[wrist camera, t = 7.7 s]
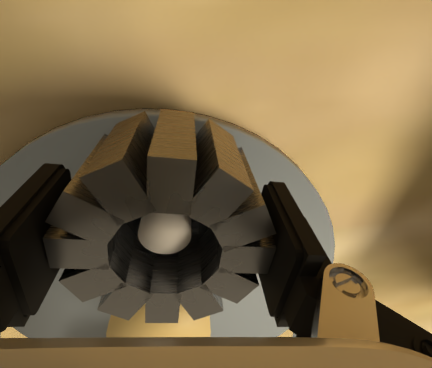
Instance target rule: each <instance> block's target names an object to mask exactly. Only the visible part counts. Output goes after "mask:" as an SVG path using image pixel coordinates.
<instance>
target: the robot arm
mask: <svg viewBox="0 0 432 368" xmlns="http://www.w3.org/2000/svg"><path fill="white" fill-rule="evenodd" d="M70 181H71V173H70V170H69V169H65V167H64V165H62V164H50V163H44V164H43V165H42V166H41V167H40V168H39V169H38V170H37V171H36V172H35V173H34V174H33V175H32V176H31V177H30V178H29V179H28V180H27V181H26V182H25V183H24V184H23V185H22V186H21V187H20V188H19V189H18V190H17V191H16V192H15V193H14V194H13V195H12V196H11V197H10V198H9V199H8V200H7V201H6V202H5V203H4V204H3V205H2V206H1V207H0V333H1V332H2V331H4V330H6V328H7V327H24V326H25V325H26V323H27V321H28V319H29V317H30V315H35V314H36V313H37V312H38V310H39V308H40V306H41V304H42V302H43V300H44V298H45V296H46V295H47V293H48V291H49V289H50V287H51V285H52V283H53V281H54V279H55V277H56V275H57V273H58V271H59V269H60V268H50V267H49V262H48V258H47V254H46V250H45V246H44V242H43V237H44V235H45V234H46V232H47V231H48V229H49V228H50V226H51V225H50V224H48V223H46V222H45V221H46V219H47V217H48V216H49V214H50V212H51V211H52V209H53V207H54V206H55V204H56V202H57V201H58V199H59V197H60V195H61V194H62V192H63V191H64V189H65V188H66V186H67V185H68V184H69V182H70ZM261 195H262V197H263V200H264V202H265V204H266V207H267V210H268V212H269V215H270V218H271V220H272V223H273V226H274V228H275V231H276V234H274V235H272V237H273V240H274V243H275V245H276V251H275V254H274V257H273V260H272V262H271V265H270V268H269V271H268V274H259V278H260V282H261V285H262V289H263V293H264V297H265V300H266V304H267V308H268V312H269V315H270V316H271V317H274V318H275V322H276V325H277V327H289V330H291V331H292V332H293V337H95V338H0V368H432V334H431V333H429V332H428V331H426V330H424V329H423V328H421V327H419V326H418V325H416V324H414V323H413V322H411V321H410V320H408V319H406V318H405V317H403V316H401V315H400V314H398V313H396V312H395V311H393V310H391V309H390V308H388V307H386V306H385V305H383V304H381V303H380V302H378V301H377V300H375V294H374V289H373V286H372V285H371V283H370V282H369V280H368V279H367V278H366V277H365V276H364V275H363V274H362V273H360V272H359V271H358V270H356V269H354V268H352V267H350V266H348V265H344V264H340V263H333V264H332V263H331V261H330V259H329V258H328V256H327V254H326V252H325V251H324V249H323V247H322V245H321V244H320V242H319V240H318V238H317V237H316V235H315V233H314V232H313V230H312V228H311V226H310V225H309V223H308V221H307V219H306V218H305V217H304V216H303V214H302V212H301V210H300V209H299V207H298V205H297V203H296V202H295V200H294V198H293V196H292V195H291V193H290V191H289V190H288V188H287V186H286V184H285V183H284V182H274V181H270V182H269V183H268V185H267V184H265V185H264V186H263V189H262V193H261Z"/></svg>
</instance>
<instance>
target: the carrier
mask: <svg viewBox="0 0 432 368" xmlns="http://www.w3.org/2000/svg"><path fill="white" fill-rule="evenodd" d="M144 111H145V112H146V114H147V116H148V117H149V119H150V121H151V123H152V125H153V126H154V128H156V125H157V121H158V118H159V115H160V111H161V109H145V108H144V109H132V110H119V111H111V112H106V113H102V114H97V115H92V116H88V117H83V118H80V119H78V120H75V121H72V122H70V123H67V124H64V125H62V126H59V127H56V128H54V129H52V130H50V131H49V132H47V133H45V134H43V135H41V136H40V137H38V138H36V139H34V140H32V141H31V142H29V143H28V144H27V145H26V146H24V147H23V148H22V149H20V150H19V151H18V152H17V153H15V154H14V155H13V156H12V157H10V158H9V159H8V160H7V161H5V162H4V163H3V164H2V165H0V207H1V206H2V205H3V204H4V203H5V202H6V201H7V200H8V199H9V198H10V197H11V196H12V195H13V194H14V193H15V192H16V191H17V190H18V189H19V188H20V187H21V186H22V185H23V184H24V183H25V182H26V181H27V180H28V179H29V178H30V177H31V176H32V175H33V174H34V173H35V172H36V171H37V170H38V169H39V168H40V167H41V166H42V165H43V164H44V163H50V164H62V165H64V167H65V169H69V170H70V173H71V179H72V178H73V177H74V175H75V174H76V173H77V171H78V170H79V168H80V167H81V166H82V164H83V163H84V162H85V160H86V159H87V157H88V156H89V155H90V153H91V152H92V151H93V149H94V148H95V146H96V145H97V144H98V142H99V141H100V139H101V138H102V137H103V135H104V134H107V135H109V133H110V132H111V130H112V129H113V128H114V126H115V125H116V124H117V123H119V122H121V121H123V120H126V119H128V118H130V117H133V116H135V115H137V114H139V113H142V112H144ZM178 111H179V110H178ZM208 119H211V120H212V121H213V122H215V123H216V124H218V125H219V126H220V127H222V128H223V129H224V130H226V131H227V132H228V133H230V134H231V135H233V137H234V140H235V142H236V145H237V147H238V148H240V147H242V149H243V152H244V154H245V156H246V159H247V161H248V164H249V166H250V168H251V171H252V173H253V176H254V178H255V180H256V183H257V185H258V188H259V190H260V192H261V193H262V189H263V186H264V185H265V184H267V185H268V183H269V182H270V181H274V182H284V183H285V184H286V186H287V188H288V190H289V191H290V193H291V195H292V196H293V198H294V200H295V202H296V203H297V205H298V207H299V209H300V210H301V212H302V214H303V216H304V217H305V218H306V219H307V221H308V223H309V225H310V226H311V228H312V230H313V232H314V233H315V235H316V237H317V238H318V240H319V242H320V244H321V245H322V247H323V249H324V251H325V252H326V254H327V256H328V258H329V259H330V261H331V263H332V264H333V260H334V247H335V241H334V233H333V226H332V223H331V220H330V216H329V213H328V210H327V208H326V206H325V204H324V203H323V201H322V199H321V197H320V195H319V193H318V192H317V190H316V189H315V188H314V186H313V185H312V184H311V182H310V181H309V180H308V178H307V177H306V176H305V175H304V173H303V172H302V171H301V170H300V168H299V167H298V166H297V165H296V164H295V163H294V162H293V161H292V160H291V159H290V158H288V157H287V156H286V155H285V154H284V153H283V152H282V151H281V150H280V149H278V148H276V147H275V146H273V145H272V144H270V143H269V142H267V141H266V140H264V139H263V138H261V137H260V136H258V135H256V134H254V133H252V132H250V131H247V130H245V129H243V128H241V127H239V126H237V125H235V124H232V123H229V122H226V121H222V120H219V119H216V118H213V117H210V116H207V115H201V114H196V113H194V120H195V135H196V134H197V133H198V132H199V130H200V129H201V128H202V127H203V125H204V124H205V123H206V121H207V120H208ZM138 238H139V241H140V243H141V244H142V245H143V246H144V247H145V248H146V249H148V250H150V251H152V252H154V253H158V254H172V253H176V252H179V251H181V250H182V249H184V248H185V247H186V246H187V245H188V244H189V242H190V240H191V217H189V216H187V215H182V214H165V213H150V214H147V215H145V216H142V217H141V221H140V225H139V229H138ZM63 271H64V269H63V268H60V269H59V271H58V273H57V275H56V277H55V279H54V281H53V283H52V285H51V287H50V289H49V291H48V293H47V295H46V296H45V298H44V300H43V302H42V304H41V306H40V308H39V310H38V312H37V313H36V314H35V315H30V317H29V319H28V321H27V323H26V325H25V326H24V327H13V328H15V329H16V330H17V331H19V332H20V333H21V334H23V335H25V336H26V337H28V338H95V337H277V336H279V335H281V334H282V333H284V332H285V331H286V330H288V329H289V327H277V325H276V322H275V318H274V317H271V316H270V315H269V312H268V308H267V304H266V300H265V297H264V293H263V289H262V285H261V282H260V278H259V274H256V275H257V279H258V283H259V286H258V287H256V288H255V289H254V290H253V291H252V292H251V293H249V294H248V295H247V296H246V297H245V298H243V299H242V300H241V301H240V302H239V303H237V304H236V303H234V302H231V301H229V300H227V299H224V298H222V301H223V310H224V311H222V312H219V313H216V314H213V315H210V316H206V317H203V318H200V319H197V320H193V319H192V318H191V316H190V315H189V314H188V313H187V311H186V310H185V309H184V308H183V306H182V305H181V304H180V310H179V319H178V323H145V304H144V305H143V306H142V307H141V308H140V309H139V310H138V311H137V312H136V313H135V315H134V316H133V317H132V318H131V319H130V320H129V321H128V320H125V319H122V318H119V317H116V316H113V315H110V314H107V313H104V312H101V311H98V310H97V309H98V306H99V302H100V299H101V296H99V297H96V298H94V299H91V300H88V301H85V302H82V301H80V300H79V299H78V298H77V297H76V296H75V295H74V294H73V293H71V292H70V291H69V290H68V289H67V288H66V287H65V286H63V285H62V284H61V283H60V282H59V279H60V277H61V275H62V273H63Z"/></svg>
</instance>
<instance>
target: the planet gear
mask: <svg viewBox="0 0 432 368" xmlns="http://www.w3.org/2000/svg"><path fill="white" fill-rule="evenodd" d="M150 213H165V214H182V215H187V216H189V217H191V240H190V242H189V244H188V245H187V246H186V247H185V248H184V249H182V250H181V251H179V252H176V253H172V254H158V253H154V252H152V251H150V250H148V249H146V248H145V247H144V246H143V245H142V244H141V243H140V241H139V238H138V229H139V225H140V221H141V217H142V216H145V215H147V214H150ZM45 222H46V223H48V224H50V225H51V226H50V228H49V229H48V231H47V232H46V234H45V235H44V237H43V242H44V246H45V250H46V254H47V258H48V262H49V267H50V268H63V269H64V271H63V273H62V275H61V277H60V279H59V282H60V283H61V284H62V285H63V286H65V287H66V288H67V289H68V290H69V291H70V292H71V293H73V294H74V295H75V296H76V297H77V298H78V299H79V300H80V301H82V302H85V301H88V300H91V299H94V298H96V297H99V296H101V299H100V302H99V306H98V309H97V310H98V311H101V312H104V313H107V314H110V315H113V316H116V317H119V318H122V319H125V320H128V321H129V320H130V319H131V318H132V317H133V316H134V315H135V313H136V312H137V311H138V310H139V309H140V308H141V307H142V306H143V305H144V304H145V323H178V319H179V310H180V304H181V305H182V306H183V308H184V309H185V310H186V311H187V313H188V314H189V315H190V316H191V318H192V319H193V320H197V319H200V318H203V317H206V316H210V315H213V314H216V313H219V312H222V311H224V310H223V301H222V298H224V299H227V300H229V301H231V302H234V303H236V304H237V303H239V302H240V301H241V300H242V299H243V298H245V297H246V296H247V295H248V294H249V293H251V292H252V291H253V290H254V289H255V288H256V287H258V286H259V283H258V279H257V275H256V274H268V271H269V268H270V265H271V262H272V260H273V257H274V254H275V251H276V245H275V243H274V240H273V237H272V235H274V234H276V231H275V228H274V226H273V223H272V220H271V218H270V215H269V212H268V210H267V207H266V204H265V202H264V200H263V197H262V195H261V192H260V190H259V188H258V185H257V183H256V180H255V178H254V176H253V173H252V171H251V168H250V166H249V164H248V161H247V159H246V156H245V154H244V152H243V149H242V147H240V148H238V147H237V145H236V142H235V140H234V137H233V135H231V134H230V133H228V132H227V131H226V130H224V129H223V128H222V127H220V126H219V125H218V124H216V123H215V122H213V121H212V120H211V119H208V120H207V121H206V123H205V124H204V125H203V127H202V128H201V129H200V130H199V132H198V133H197V134H196V135H195V120H194V112H187V111H178V110H169V109H161V111H160V115H159V118H158V121H157V125H156V128H154V126H153V125H152V123H151V121H150V119H149V117H148V116H147V114H146V112H145V111H144V112H142V113H139V114H137V115H135V116H133V117H130V118H128V119H126V120H123V121H121V122H119V123H117V124H116V125H115V126H114V128H113V129H112V130H111V132H110V133H109V135H107V134H104V135H103V137H102V138H101V139H100V141H99V142H98V144H97V145H96V146H95V148H94V149H93V151H92V152H91V153H90V155H89V156H88V157H87V159H86V160H85V162H84V163H83V164H82V166H81V167H80V168H79V170H78V171H77V173H76V174H75V175H74V177H73V178H72V179H71V181H70V182H69V184H68V185H67V186H66V188H65V189H64V191H63V192H62V194H61V195H60V197H59V199H58V201H57V202H56V204H55V206H54V207H53V209H52V211H51V212H50V214H49V216H48V217H47V219H46V221H45Z"/></svg>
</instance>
